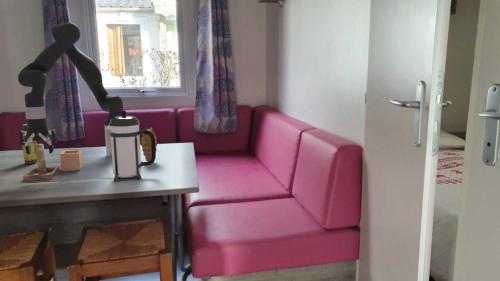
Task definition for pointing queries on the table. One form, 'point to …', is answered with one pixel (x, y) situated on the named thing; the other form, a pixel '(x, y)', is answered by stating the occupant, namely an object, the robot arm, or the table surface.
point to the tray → (34, 175)
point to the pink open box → (71, 160)
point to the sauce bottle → (32, 157)
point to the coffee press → (128, 146)
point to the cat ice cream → (147, 145)
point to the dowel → (40, 159)
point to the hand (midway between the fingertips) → (40, 153)
